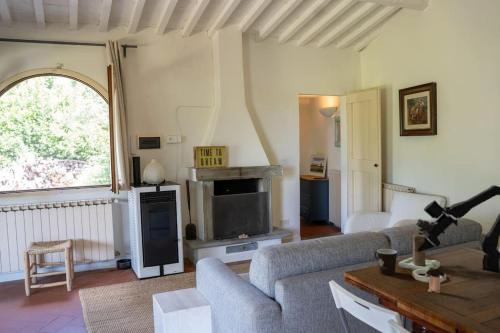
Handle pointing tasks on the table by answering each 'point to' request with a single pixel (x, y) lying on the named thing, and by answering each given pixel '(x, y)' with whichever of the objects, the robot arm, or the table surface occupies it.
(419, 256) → the walnut post
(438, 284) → the grandmother figurine
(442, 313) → the table surface
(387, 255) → the coffee mug
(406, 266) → the tray
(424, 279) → the ring dish
